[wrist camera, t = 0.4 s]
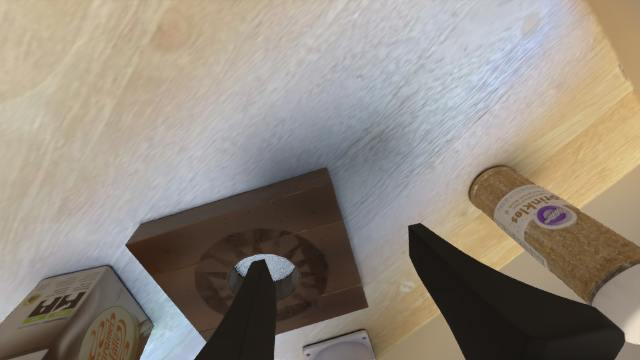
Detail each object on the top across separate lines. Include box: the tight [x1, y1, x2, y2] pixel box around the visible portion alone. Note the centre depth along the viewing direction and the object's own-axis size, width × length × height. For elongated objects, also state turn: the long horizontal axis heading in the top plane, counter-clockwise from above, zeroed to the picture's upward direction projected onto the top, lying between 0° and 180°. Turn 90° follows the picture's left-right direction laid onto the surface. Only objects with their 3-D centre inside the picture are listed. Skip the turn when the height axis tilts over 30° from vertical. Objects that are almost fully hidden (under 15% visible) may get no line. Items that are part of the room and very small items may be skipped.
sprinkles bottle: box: [470, 166, 640, 344], centre depth 19 cm, size 5×5×14 cm
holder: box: [125, 168, 368, 342], centre depth 25 cm, size 15×16×2 cm
